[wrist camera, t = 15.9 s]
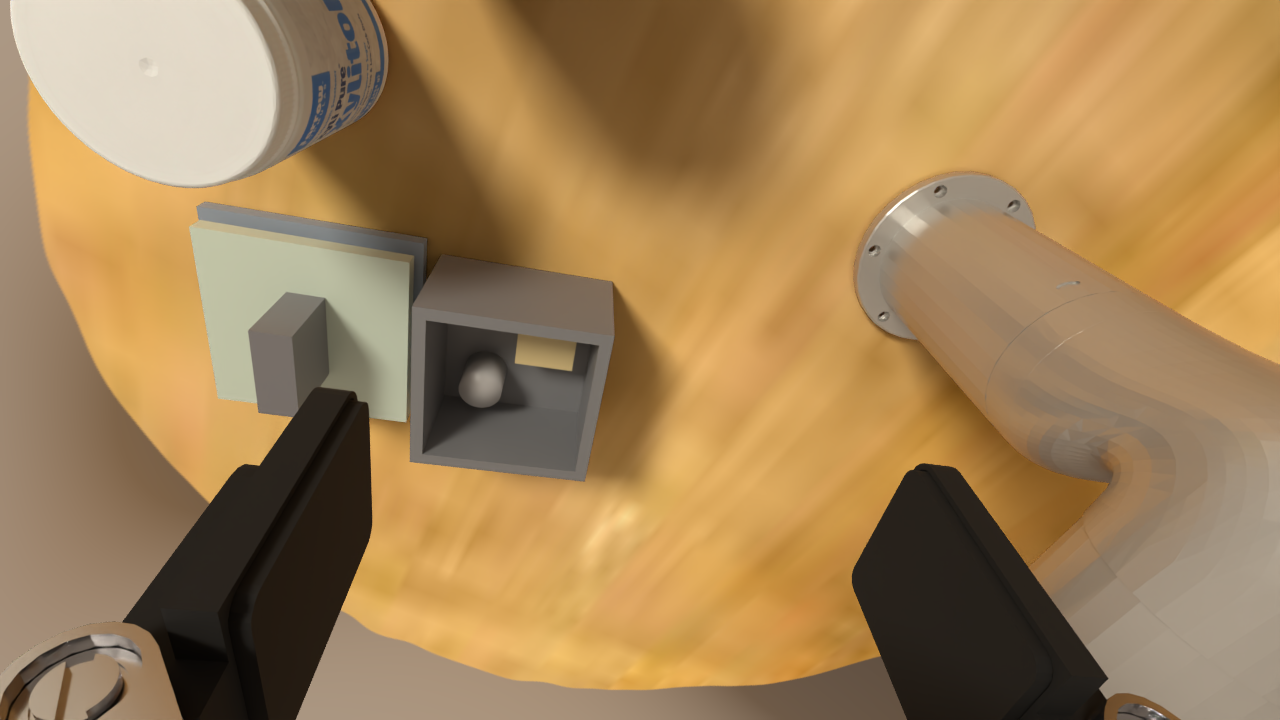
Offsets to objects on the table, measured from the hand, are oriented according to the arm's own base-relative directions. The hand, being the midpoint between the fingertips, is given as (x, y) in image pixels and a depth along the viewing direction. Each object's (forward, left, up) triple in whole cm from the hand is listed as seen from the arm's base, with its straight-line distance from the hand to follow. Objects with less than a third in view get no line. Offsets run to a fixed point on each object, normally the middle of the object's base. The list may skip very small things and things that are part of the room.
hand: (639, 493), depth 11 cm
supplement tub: (+18, -1, -34) cm, 38 cm away
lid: (+18, +17, -32) cm, 41 cm away
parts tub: (+4, +17, -33) cm, 38 cm away
